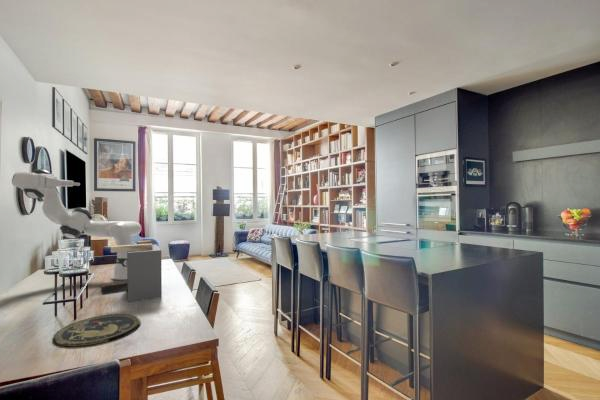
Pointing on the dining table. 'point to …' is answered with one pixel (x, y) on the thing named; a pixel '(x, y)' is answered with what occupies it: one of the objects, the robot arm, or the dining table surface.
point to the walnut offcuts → (144, 242)
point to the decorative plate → (96, 330)
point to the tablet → (114, 289)
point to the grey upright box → (144, 274)
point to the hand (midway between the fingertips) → (76, 184)
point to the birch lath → (131, 248)
